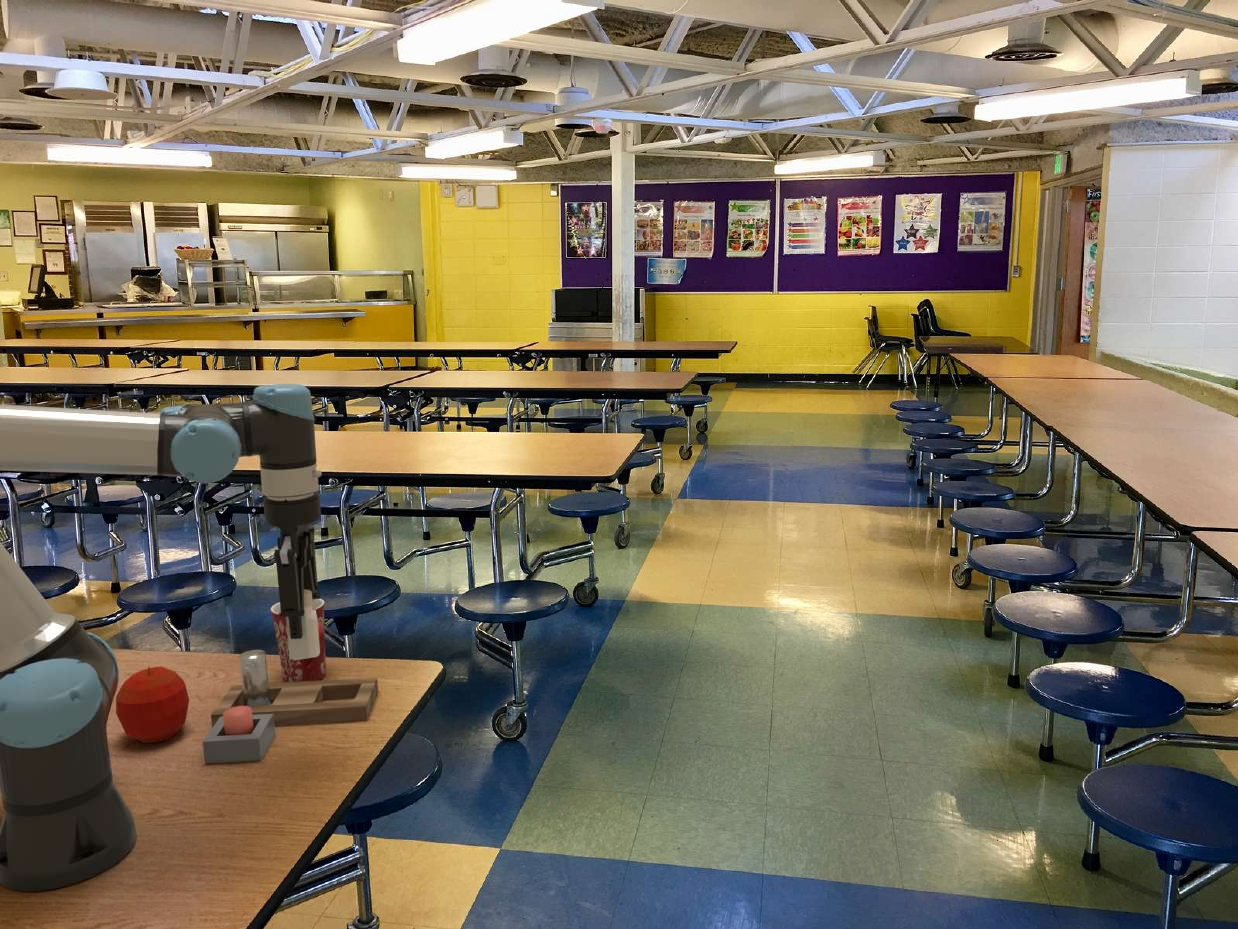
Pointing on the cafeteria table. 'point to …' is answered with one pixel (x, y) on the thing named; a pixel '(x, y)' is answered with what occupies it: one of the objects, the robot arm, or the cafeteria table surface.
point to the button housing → (239, 741)
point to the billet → (254, 678)
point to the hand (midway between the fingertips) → (304, 650)
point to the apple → (152, 704)
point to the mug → (304, 667)
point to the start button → (238, 721)
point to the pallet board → (309, 701)
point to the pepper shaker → (311, 625)
